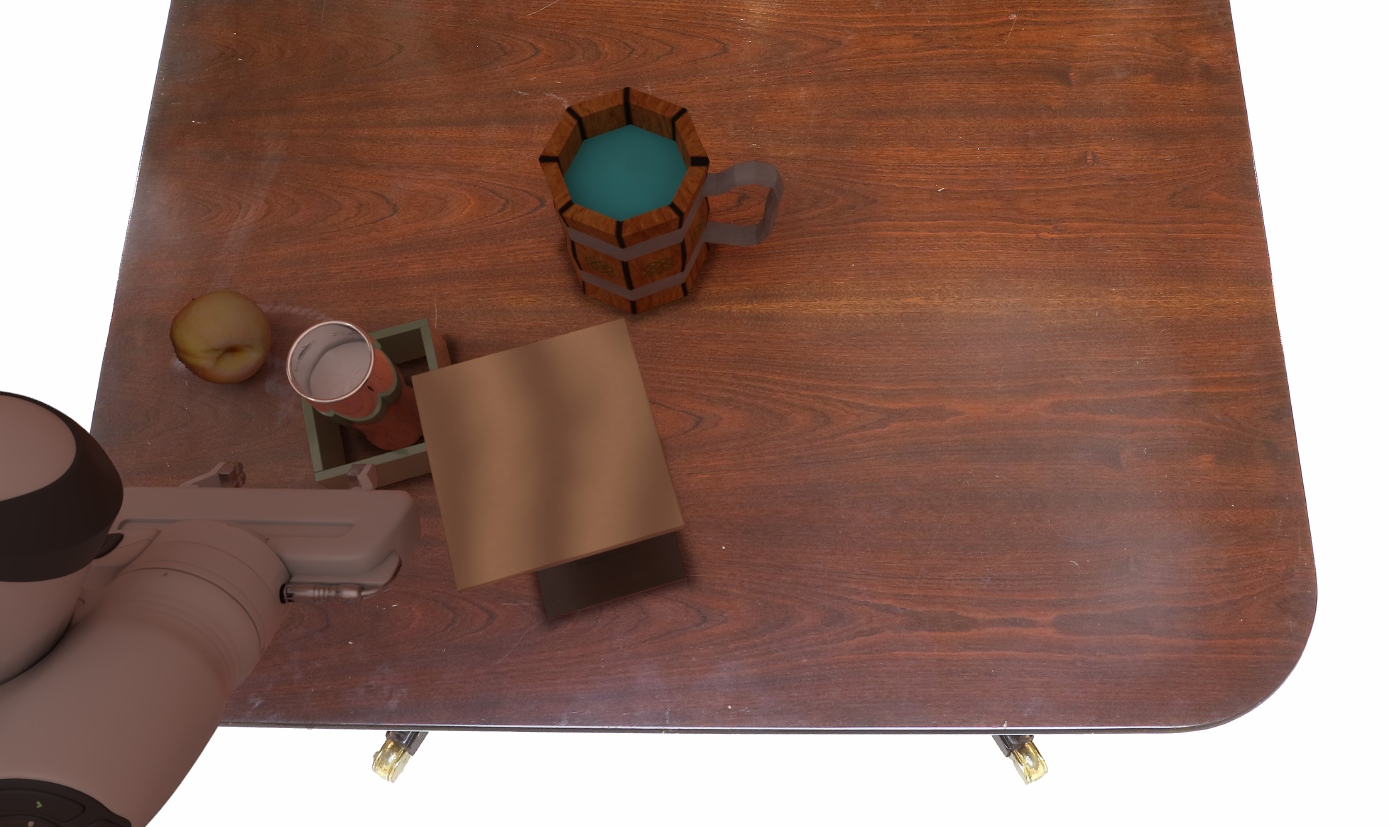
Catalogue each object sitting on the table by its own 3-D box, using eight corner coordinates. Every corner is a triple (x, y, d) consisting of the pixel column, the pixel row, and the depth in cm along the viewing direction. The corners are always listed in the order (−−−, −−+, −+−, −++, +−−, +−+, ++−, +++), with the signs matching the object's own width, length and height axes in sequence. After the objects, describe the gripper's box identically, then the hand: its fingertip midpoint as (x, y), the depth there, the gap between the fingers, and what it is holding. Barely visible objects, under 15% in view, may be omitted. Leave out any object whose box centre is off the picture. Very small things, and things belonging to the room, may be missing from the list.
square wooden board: (461, 593, 52) (456, 591, 51) (415, 381, 56) (410, 375, 55) (685, 528, 53) (685, 525, 52) (626, 323, 56) (624, 316, 55)
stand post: (549, 619, 78) (467, 582, 52) (516, 484, 81) (425, 386, 55) (687, 579, 79) (674, 522, 53) (649, 447, 82) (620, 332, 56)
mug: (561, 313, 86) (531, 236, 72) (570, 183, 90) (544, 85, 75) (775, 317, 85) (788, 240, 71) (775, 186, 89) (787, 88, 75)
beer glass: (350, 393, 84) (275, 332, 70) (425, 371, 84) (366, 305, 70) (365, 465, 82) (291, 417, 68) (442, 442, 83) (385, 389, 68)
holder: (343, 497, 81) (315, 482, 76) (321, 376, 85) (292, 353, 79) (473, 460, 82) (455, 442, 76) (446, 342, 85) (427, 316, 80)
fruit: (207, 403, 84) (156, 374, 76) (203, 319, 86) (153, 283, 79) (291, 387, 84) (249, 356, 77) (285, 304, 87) (243, 266, 79)
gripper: (375, 556, 52) (440, 434, 64) (14, 550, 53) (147, 430, 65) (392, 642, 55) (452, 510, 67) (51, 636, 56) (171, 506, 68)
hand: (300, 471), depth 66 cm, fingers open, 8 cm apart
